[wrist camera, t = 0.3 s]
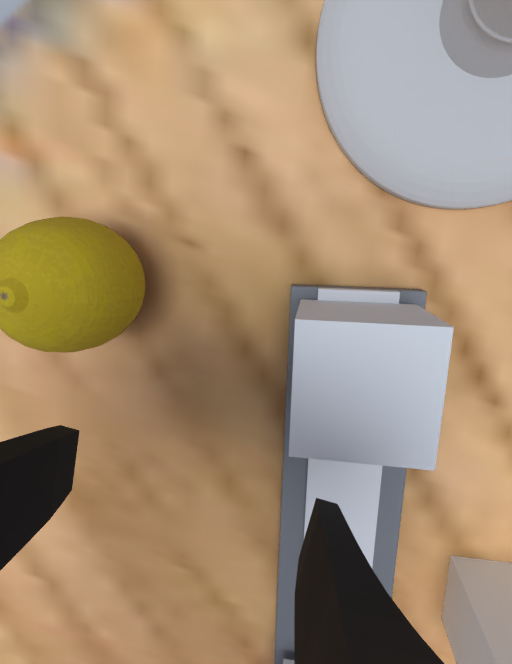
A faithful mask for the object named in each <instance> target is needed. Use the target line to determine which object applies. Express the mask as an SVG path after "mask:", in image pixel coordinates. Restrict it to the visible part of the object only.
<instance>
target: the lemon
mask: <svg viewBox="0 0 512 664" xmlns="http://www.w3.org/2000/svg"><path fill="white" fill-rule="evenodd" d="M144 294H145V276H144V272H143V267H142V264H141V262H140V260H139V258H138V256H137V254H136V252H135V251H134V250H133V248H132V247H131V246H130V245H129V244H128V243H127V241H126V240H125V239H124V238H122V237H121V236H120V235H118V234H117V233H115V232H114V231H113V230H111V229H110V228H108V227H106V226H103V225H101V224H98V223H96V222H93V221H91V220H87V219H80V218H72V217H55V218H49V219H43V220H37V221H33V222H30V223H27V224H25V225H23V226H21V227H19V228H17V229H15V230H13V231H11V232H9V233H8V234H6V235H5V236H4V237H3V238H2V239H1V240H0V329H1V330H2V331H3V332H4V333H6V334H7V335H8V336H9V337H10V338H12V339H14V340H16V341H17V342H19V343H21V344H23V345H25V346H27V347H30V348H34V349H37V350H41V351H45V352H77V351H81V350H85V349H89V348H94V347H97V346H100V345H102V344H104V343H106V342H108V341H110V340H111V339H113V338H115V337H117V336H118V335H120V334H121V333H122V332H123V331H124V330H125V329H126V328H127V327H128V326H129V325H130V324H131V323H132V322H133V321H134V319H135V317H136V315H137V314H138V312H139V310H140V308H141V306H142V303H143V299H144Z"/></svg>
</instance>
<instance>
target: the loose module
mask: <svg viewBox="0 0 512 664" xmlns="http://www.w3.org/2000/svg"><path fill="white" fill-rule="evenodd" d="M441 618H442V621H443V624H444V627H445V630H446V633H447V636H448V639H449V642H450V645H451V648H452V651H453V654H454V657H455V660H456V663H457V664H512V563H509V562H501V561H493V560H485V559H476V558H468V557H460V556H452V555H451V556H450V563H449V570H448V576H447V583H446V590H445V597H444V604H443V610H442V617H441Z"/></svg>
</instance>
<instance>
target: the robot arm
mask: <svg viewBox="0 0 512 664" xmlns="http://www.w3.org/2000/svg"><path fill="white" fill-rule="evenodd" d="M78 437H79V430H76V429H72V428H68V427H65V426H61V425H59V426H55V427H50V428H47V429H43V430H39V431H36V432H33V433H29V434H26V435H23V436H19V437H16V438H13V439H9V440H6V441H3V442H0V570H1V569H2V568H3V567H4V566H5V565H6V564H7V563H8V562H9V561H10V560H11V559H12V558H13V557H14V556H15V555H16V554H17V553H18V552H19V551H20V550H21V549H22V548H23V547H24V546H25V545H26V544H27V543H28V542H29V541H30V540H31V538H32V537H33V536H34V535H35V534H36V533H37V532H38V531H39V530H40V529H41V528H42V527H43V526H44V525H45V524H46V523H47V522H48V521H49V520H50V518H51V517H52V516H53V514H54V513H55V512H56V511H57V509H58V508H59V507H60V505H61V504H62V503H63V501H64V500H65V498H66V497H67V496H68V494H69V493H70V492H71V490H72V484H73V476H74V468H75V460H76V453H77V445H78ZM294 664H444V663H443V662H442V661H441V659H440V658H439V657H438V656H437V655H436V654H435V653H434V651H433V650H432V649H431V648H430V647H429V646H428V645H427V643H426V642H425V641H424V640H423V639H422V638H421V636H420V635H419V634H418V633H417V632H416V630H415V629H414V628H413V627H412V625H411V624H410V623H409V621H408V620H407V619H406V617H405V616H404V615H403V613H402V612H401V611H400V609H399V608H398V607H397V605H396V604H395V603H394V601H393V600H392V599H391V597H390V596H389V594H388V593H387V591H386V590H385V588H384V587H383V585H382V584H381V582H380V581H379V579H378V577H377V576H376V574H375V573H374V571H373V569H372V568H371V566H370V564H369V563H368V561H367V559H366V557H365V555H364V554H363V552H362V550H361V548H360V547H359V545H358V543H357V541H356V539H355V537H354V535H353V533H352V531H351V529H350V527H349V525H348V523H347V521H346V519H345V517H344V515H343V513H342V511H341V509H340V507H339V506H338V504H336V503H333V502H329V501H326V500H322V499H319V498H316V500H315V504H314V507H313V510H312V514H311V517H310V521H309V524H308V528H307V531H306V534H305V538H304V541H303V545H302V548H301V552H300V555H299V560H298V568H297V577H296V586H295V612H294Z"/></svg>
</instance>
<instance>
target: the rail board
mask: <svg viewBox="0 0 512 664" xmlns="http://www.w3.org/2000/svg"><path fill="white" fill-rule="evenodd" d="M426 293H427V292H426V291H424V290H421V289H399V288H374V287H349V286H324V285H299V284H292V286H291V298H290V321H289V344H288V366H287V389H286V412H285V435H284V458H283V481H282V504H281V527H280V549H279V572H278V595H277V618H276V641H275V664H294V612H295V586H296V577H297V568H298V560H299V555H300V552H301V548H302V545H303V541H304V538H305V534H306V531H307V528H308V524H309V521H310V517H311V514H312V510H313V507H314V504H315V500H316V498H319V499H322V500H326V501H329V502H333V503H336V504H338V506H339V507H340V509H341V511H342V513H343V515H344V517H345V519H346V521H347V523H348V525H349V527H350V529H351V531H352V533H353V535H354V537H355V539H356V541H357V543H358V545H359V547H360V548H361V550H362V552H363V554H364V555H365V557H366V559H367V561H368V563H369V564H370V566H371V568H372V569H373V571H374V573H375V574H376V576H377V577H378V579H379V581H380V582H381V584H382V585H383V587H384V588H385V590H386V591H387V593H388V594H389V596H390V597H391V599H392V590H393V582H394V573H395V564H396V555H397V547H398V538H399V529H400V521H401V512H402V503H403V494H404V486H405V477H406V468H413V469H423V470H434V471H435V466H436V458H437V451H438V443H439V436H440V428H441V420H442V413H443V405H444V397H445V390H446V382H447V374H448V367H449V359H450V352H451V344H452V336H453V329H454V327H452V326H451V325H449V324H447V323H446V322H444V321H443V320H441V319H439V318H438V317H436V316H435V315H433V314H431V313H430V312H428V311H426V310H425V302H426Z"/></svg>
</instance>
